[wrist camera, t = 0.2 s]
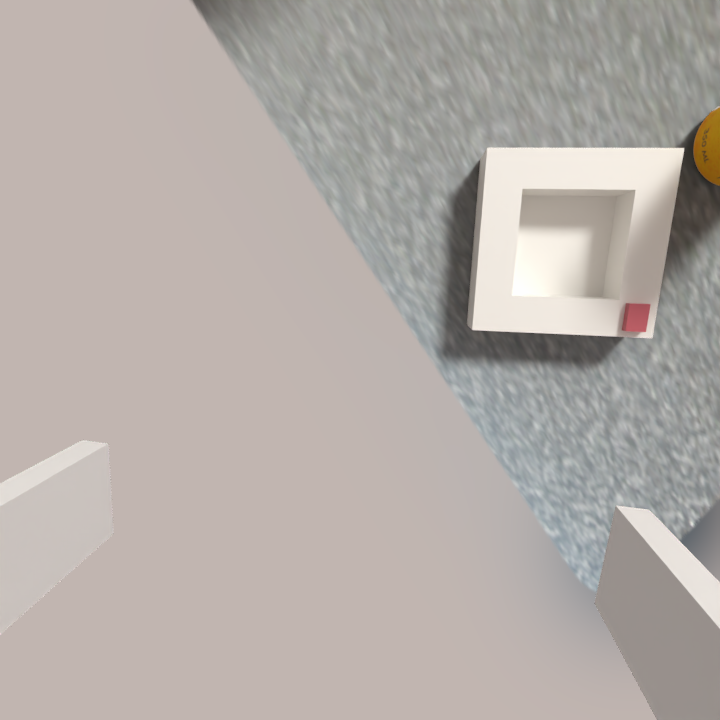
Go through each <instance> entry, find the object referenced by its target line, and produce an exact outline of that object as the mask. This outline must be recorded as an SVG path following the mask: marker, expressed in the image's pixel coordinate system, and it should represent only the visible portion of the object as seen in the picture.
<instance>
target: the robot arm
mask: <svg viewBox="0 0 720 720" xmlns="http://www.w3.org/2000/svg"><path fill="white" fill-rule="evenodd" d="M112 535H113V518H112V498H111V479H110V460H109V444H108V443H100V442H93V441H85V440H82V441H80V442H78V443H76V444H74V445H73V446H71V447H69V448H67V449H65V450H63V451H61V452H59V453H57V454H55V455H53V456H52V457H50V458H48V459H46V460H44V461H42V462H40V463H38V464H36V465H34V466H32V467H31V468H29V469H27V470H25V471H23V472H21V473H19V474H17V475H15V476H13V477H12V478H10V479H8V480H6V481H4V482H2V483H0V635H1V634H2V633H3V632H4V631H5V630H6V629H7V628H8V627H10V626H11V625H12V624H13V623H14V622H15V621H16V620H17V619H19V618H20V617H21V616H22V615H23V614H24V613H25V612H26V611H27V610H28V609H30V608H31V607H32V606H33V605H34V604H35V603H36V602H38V601H39V600H40V599H41V598H42V597H43V596H44V595H45V594H47V593H48V592H49V591H50V590H51V589H52V588H53V587H54V586H56V585H57V584H58V583H59V582H60V581H61V580H62V579H63V578H64V577H66V576H67V575H68V574H69V573H70V572H71V571H72V570H73V569H74V568H76V567H77V566H78V565H79V564H80V563H81V562H82V561H83V560H85V559H86V558H87V557H88V556H89V555H90V554H91V553H93V552H94V551H95V550H96V549H97V548H98V547H99V546H100V545H102V544H103V543H104V542H105V541H106V540H107V539H108V538H109V537H111V536H112ZM595 605H596V607H597V609H598V611H599V613H600V614H601V616H602V618H603V620H604V622H605V624H606V625H607V627H608V629H609V631H610V633H611V635H612V637H613V638H614V640H615V642H616V644H617V646H618V648H619V650H620V652H621V653H622V655H623V657H624V659H625V661H626V663H627V664H628V667H629V668H630V670H631V672H632V674H633V676H634V678H635V679H636V681H637V683H638V685H639V687H640V689H641V691H642V692H643V694H644V696H645V698H646V700H647V702H648V704H649V706H650V707H651V709H652V711H653V713H654V715H655V717H656V719H657V720H720V582H719V581H718V580H717V579H716V578H715V577H714V576H713V575H712V574H711V573H710V572H709V571H708V570H707V569H706V568H705V567H704V566H703V565H702V564H701V563H700V562H699V561H698V560H697V559H696V558H695V557H694V556H693V554H692V553H690V551H689V550H688V549H687V548H686V547H685V546H684V545H683V544H682V543H681V542H680V541H679V540H678V539H677V538H676V537H675V536H674V535H673V534H672V533H671V532H670V531H669V530H668V529H667V528H666V527H665V526H664V525H663V523H662V522H661V521H660V520H659V519H658V518H657V517H656V516H655V515H654V514H653V513H652V512H651V511H650V510H647V509H639V508H631V507H623V506H616V507H615V512H614V516H613V521H612V525H611V530H610V535H609V539H608V544H607V548H606V553H605V558H604V562H603V567H602V571H601V576H600V581H599V585H598V590H597V595H596V599H595Z"/></svg>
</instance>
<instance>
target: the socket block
mask: <svg viewBox="0 0 720 720" xmlns="http://www.w3.org/2000/svg"><path fill="white" fill-rule="evenodd" d="M683 154H684V148H487V149H486V151H485V152H484V154H483V156H482V157H481V159H480V167H479V179H478V192H477V204H476V217H475V229H474V242H473V254H472V267H471V279H470V292H469V304H468V316H467V325H468V326H469V327H470V328H471V329H472V330H480V331H503V332H525V333H547V334H569V335H592V336H614V337H636V338H652V337H653V331H654V325H655V319H656V313H657V307H658V302H659V296H660V290H661V284H662V278H663V272H664V266H665V260H666V254H667V248H668V242H669V237H670V231H671V225H672V219H673V213H674V207H675V201H676V195H677V189H678V183H679V177H680V172H681V166H682V160H683Z"/></svg>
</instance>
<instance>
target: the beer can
mask: <svg viewBox="0 0 720 720" xmlns="http://www.w3.org/2000/svg"><path fill="white" fill-rule="evenodd" d="M693 153H694V160H695V163H696V166H697V168H698V170H699V171H700V173H701V174H702V175H703V176H704V178H706V179H707V180H708V181H710V182H711V183H713V184H715V185H718V186H720V105H719V106H718V107H717V108H715V109H714V110H713V111H712V112H711V113H710V114H709V115H708V116H707V117H706V118H705V119H704V121H703V122H702V124H701V125H700V127H699V129H698V131H697V134H696V137H695V141H694V149H693Z"/></svg>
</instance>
